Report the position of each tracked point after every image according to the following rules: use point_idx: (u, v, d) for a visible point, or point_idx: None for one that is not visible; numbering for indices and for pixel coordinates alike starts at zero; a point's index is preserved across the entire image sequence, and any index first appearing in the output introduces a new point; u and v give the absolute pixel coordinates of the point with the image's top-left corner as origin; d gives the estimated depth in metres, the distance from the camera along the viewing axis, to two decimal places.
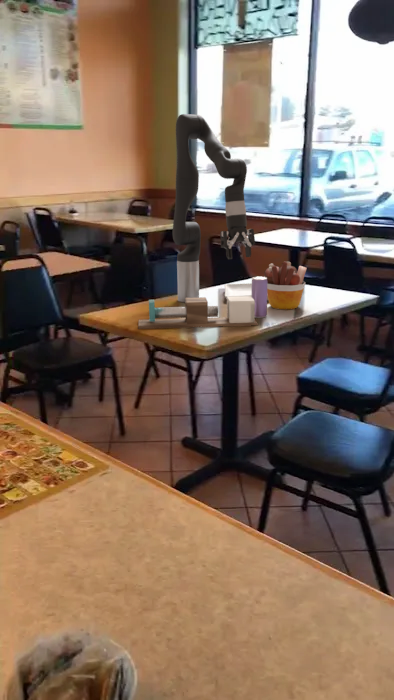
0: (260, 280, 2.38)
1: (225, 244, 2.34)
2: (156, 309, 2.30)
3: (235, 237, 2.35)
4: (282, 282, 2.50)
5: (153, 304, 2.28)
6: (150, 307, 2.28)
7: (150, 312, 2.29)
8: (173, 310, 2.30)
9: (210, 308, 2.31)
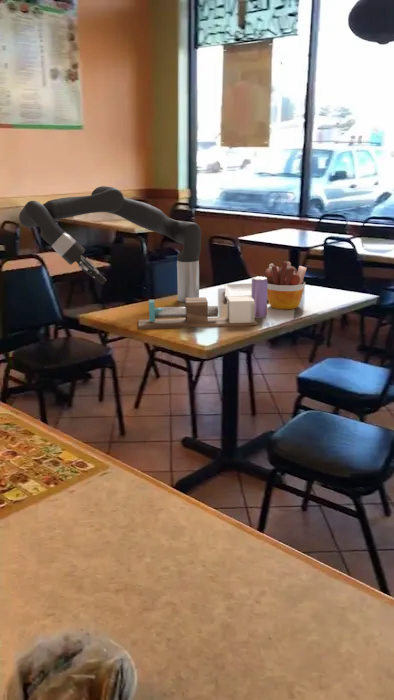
0: (260, 280, 2.38)
1: None
2: (156, 309, 2.30)
3: None
4: (282, 282, 2.50)
5: (153, 304, 2.28)
6: (150, 307, 2.28)
7: (150, 312, 2.29)
8: (173, 310, 2.30)
9: (210, 308, 2.31)
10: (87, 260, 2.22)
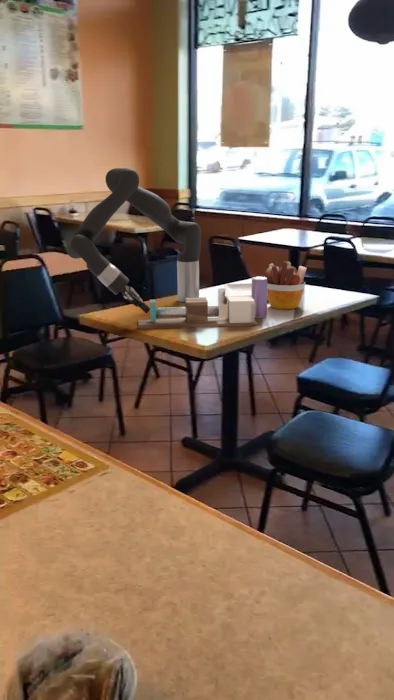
0: (260, 280, 2.38)
1: None
2: (157, 309, 2.30)
3: None
4: (282, 282, 2.50)
5: (154, 304, 2.28)
6: (151, 307, 2.28)
7: (151, 312, 2.29)
8: (174, 310, 2.30)
9: (211, 308, 2.32)
10: (132, 290, 2.27)
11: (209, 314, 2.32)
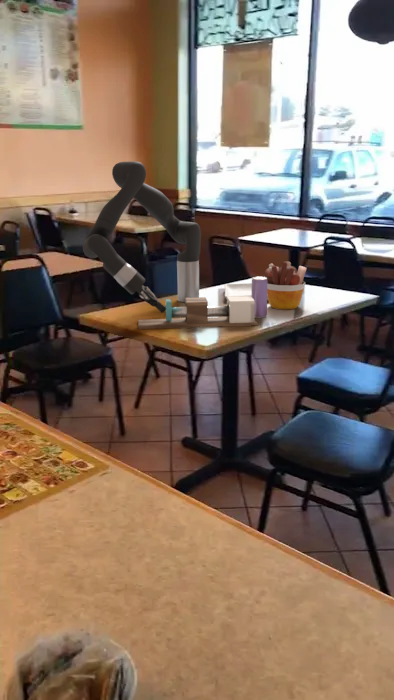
0: (260, 280, 2.38)
1: None
2: (173, 309, 2.31)
3: None
4: (282, 282, 2.50)
5: (170, 304, 2.29)
6: (167, 307, 2.29)
7: (167, 312, 2.29)
8: None
9: (227, 308, 2.32)
10: (148, 290, 2.27)
11: (225, 314, 2.32)
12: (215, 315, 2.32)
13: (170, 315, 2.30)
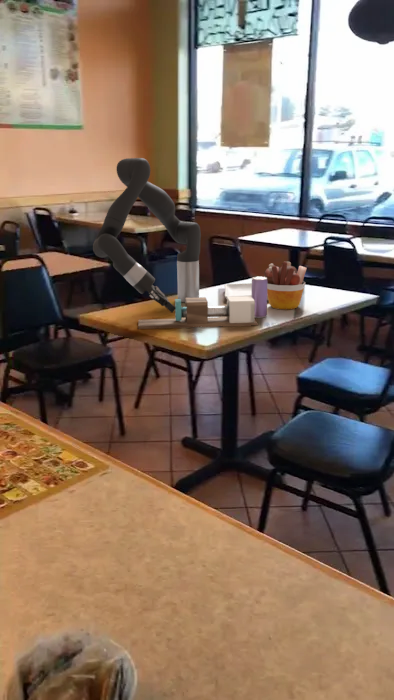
0: (260, 280, 2.38)
1: None
2: (182, 308, 2.31)
3: None
4: (282, 282, 2.50)
5: (180, 303, 2.29)
6: (177, 306, 2.29)
7: (177, 311, 2.30)
8: None
9: None
10: (158, 289, 2.28)
11: None
12: (225, 315, 2.32)
13: (180, 315, 2.30)
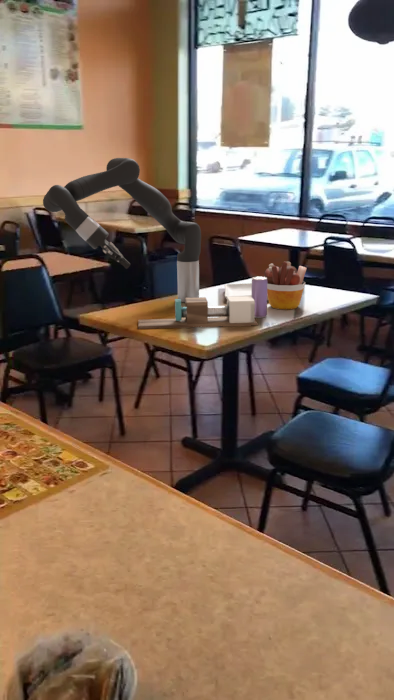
0: (260, 280, 2.38)
1: None
2: (182, 308, 2.31)
3: None
4: (282, 282, 2.50)
5: (180, 303, 2.29)
6: (177, 306, 2.29)
7: (177, 311, 2.30)
8: None
9: None
10: (111, 244, 2.22)
11: None
12: (225, 315, 2.32)
13: (180, 315, 2.30)
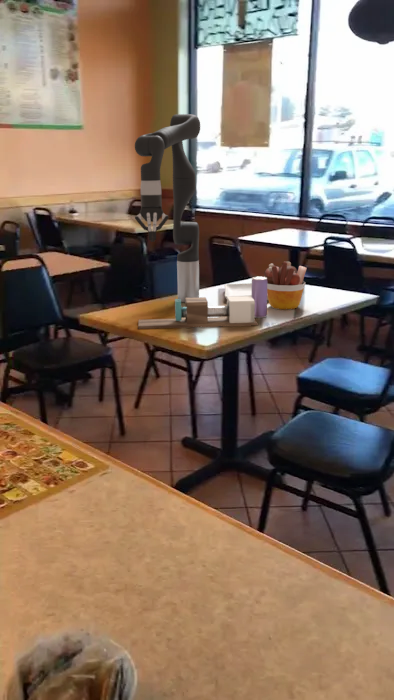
0: (260, 280, 2.38)
1: (144, 226, 2.33)
2: (182, 308, 2.31)
3: (148, 218, 2.32)
4: (282, 282, 2.50)
5: (180, 303, 2.29)
6: (177, 306, 2.29)
7: (177, 311, 2.30)
8: None
9: None
10: None
11: None
12: (225, 315, 2.32)
13: (180, 315, 2.30)
